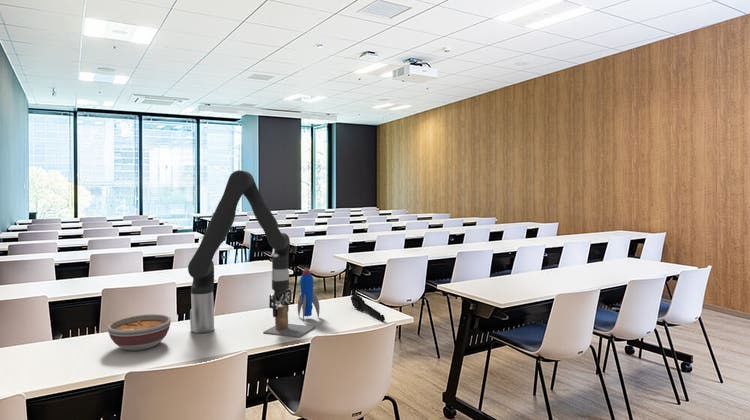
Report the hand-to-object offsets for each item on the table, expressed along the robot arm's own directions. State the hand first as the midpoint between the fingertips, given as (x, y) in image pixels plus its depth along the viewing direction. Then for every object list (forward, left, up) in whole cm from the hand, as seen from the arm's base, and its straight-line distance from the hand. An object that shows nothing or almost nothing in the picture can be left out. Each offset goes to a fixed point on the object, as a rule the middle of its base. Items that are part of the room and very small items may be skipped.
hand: (280, 314), depth 213 cm
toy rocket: (+3, +17, -7) cm, 19 cm away
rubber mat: (+4, 0, -7) cm, 8 cm away
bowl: (-43, -37, -7) cm, 57 cm away
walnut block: (0, 0, -6) cm, 6 cm away
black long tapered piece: (+26, +36, -7) cm, 46 cm away
